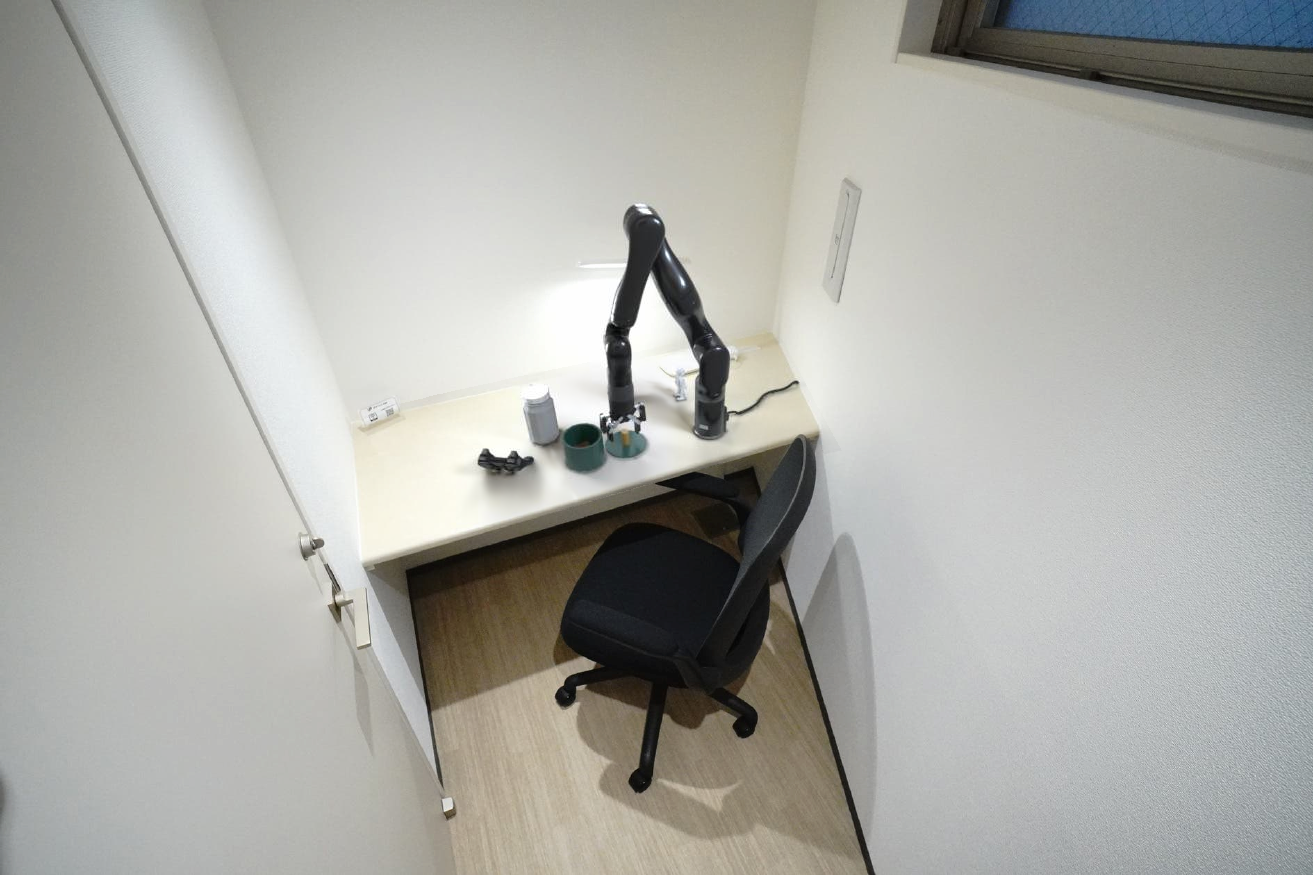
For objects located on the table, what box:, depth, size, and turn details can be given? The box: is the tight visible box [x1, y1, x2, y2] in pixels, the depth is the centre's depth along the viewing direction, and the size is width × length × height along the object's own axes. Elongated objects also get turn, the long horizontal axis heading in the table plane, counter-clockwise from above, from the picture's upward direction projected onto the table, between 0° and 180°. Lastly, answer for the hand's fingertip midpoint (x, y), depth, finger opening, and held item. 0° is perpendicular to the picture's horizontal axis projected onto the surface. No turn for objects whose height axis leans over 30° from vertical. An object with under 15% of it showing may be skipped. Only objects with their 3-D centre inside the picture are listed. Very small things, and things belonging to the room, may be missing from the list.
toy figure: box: [674, 366, 687, 401], centre depth 188 cm, size 6×3×12 cm, turn 16°
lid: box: [605, 428, 648, 459], centre depth 171 cm, size 13×13×6 cm
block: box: [574, 441, 590, 448], centre depth 167 cm, size 4×4×4 cm
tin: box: [561, 422, 606, 473], centre depth 166 cm, size 12×12×10 cm
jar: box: [521, 382, 561, 445], centre depth 172 cm, size 10×10×18 cm
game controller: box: [477, 447, 535, 475], centre depth 165 cm, size 16×7×10 cm
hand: (624, 436), depth 171 cm, fingers open, 8 cm apart
